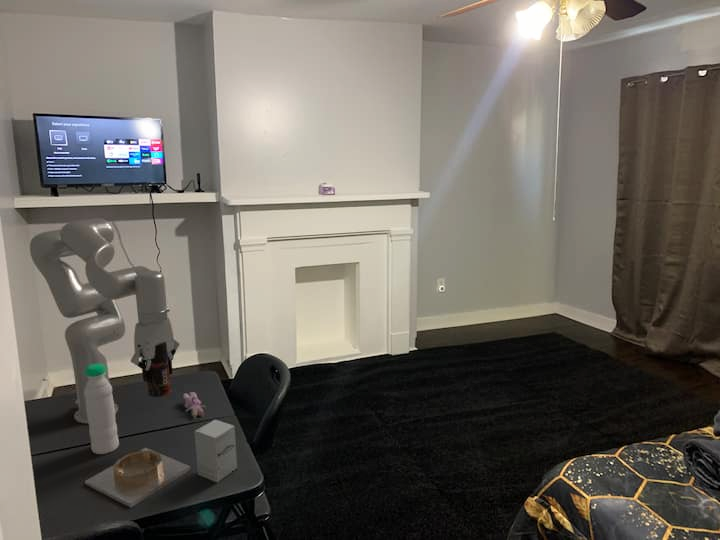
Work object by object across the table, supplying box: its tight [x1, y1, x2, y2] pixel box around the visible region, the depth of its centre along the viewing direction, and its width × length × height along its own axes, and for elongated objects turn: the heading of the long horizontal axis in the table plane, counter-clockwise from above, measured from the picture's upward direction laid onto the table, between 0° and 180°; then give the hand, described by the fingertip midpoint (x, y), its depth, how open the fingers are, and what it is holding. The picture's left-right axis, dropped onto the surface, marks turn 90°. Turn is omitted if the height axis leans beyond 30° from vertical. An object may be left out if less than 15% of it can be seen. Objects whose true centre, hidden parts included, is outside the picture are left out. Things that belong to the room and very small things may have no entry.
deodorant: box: [145, 342, 172, 398], centre depth 153 cm, size 6×6×15 cm
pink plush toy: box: [182, 391, 206, 420], centre depth 176 cm, size 6×6×15 cm
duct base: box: [84, 447, 191, 508], centre depth 141 cm, size 18×18×4 cm
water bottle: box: [84, 364, 120, 455], centre depth 152 cm, size 7×7×25 cm
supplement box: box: [194, 419, 238, 483], centre depth 142 cm, size 7×7×13 cm
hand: (158, 376), depth 153 cm, fingers closed on deodorant, 5 cm apart
